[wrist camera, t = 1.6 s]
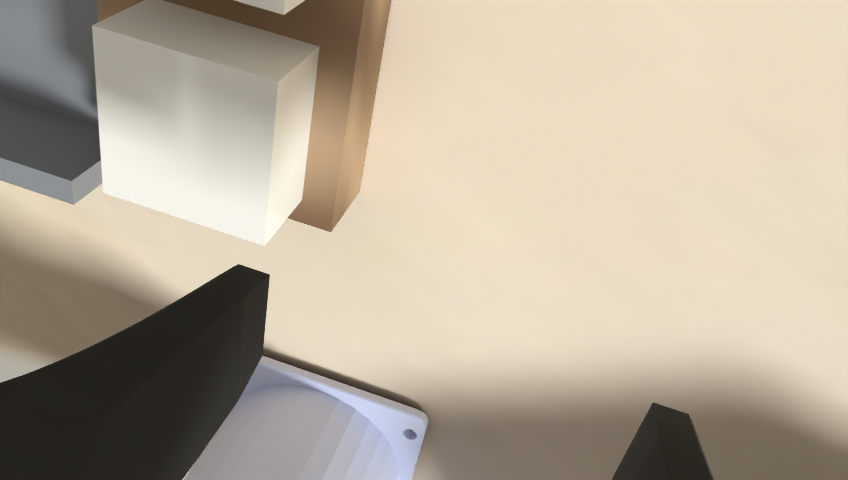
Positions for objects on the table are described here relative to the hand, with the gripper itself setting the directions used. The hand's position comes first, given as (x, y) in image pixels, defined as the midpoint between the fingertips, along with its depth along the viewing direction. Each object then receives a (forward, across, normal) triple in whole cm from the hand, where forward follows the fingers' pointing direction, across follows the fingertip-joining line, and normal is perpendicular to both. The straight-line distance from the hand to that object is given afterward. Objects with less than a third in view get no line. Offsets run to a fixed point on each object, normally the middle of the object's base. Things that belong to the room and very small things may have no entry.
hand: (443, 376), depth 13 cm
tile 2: (+7, +8, 0) cm, 10 cm away
